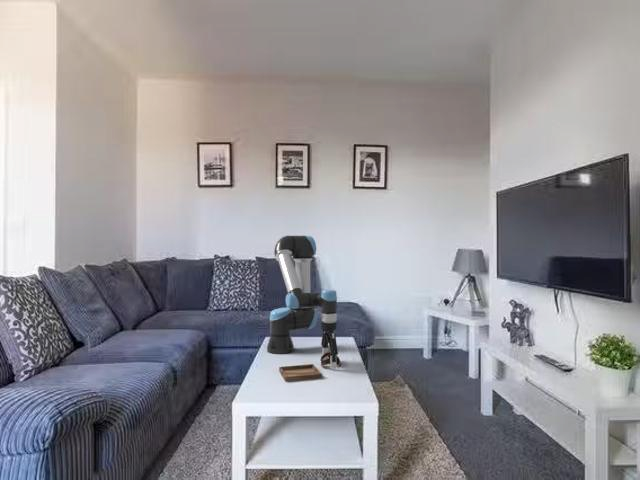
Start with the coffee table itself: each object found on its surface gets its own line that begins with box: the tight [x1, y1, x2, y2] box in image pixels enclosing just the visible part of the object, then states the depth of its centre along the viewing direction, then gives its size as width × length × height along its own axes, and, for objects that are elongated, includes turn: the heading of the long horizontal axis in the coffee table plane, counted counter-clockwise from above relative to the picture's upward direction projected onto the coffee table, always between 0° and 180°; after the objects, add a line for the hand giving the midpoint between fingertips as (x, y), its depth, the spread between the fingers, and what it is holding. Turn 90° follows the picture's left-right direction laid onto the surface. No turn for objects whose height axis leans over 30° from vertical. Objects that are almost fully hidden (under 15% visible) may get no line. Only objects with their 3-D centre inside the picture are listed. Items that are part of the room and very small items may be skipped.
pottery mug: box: [319, 351, 342, 369], centre depth 205 cm, size 12×10×8 cm
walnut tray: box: [278, 363, 323, 383], centre depth 192 cm, size 16×17×2 cm
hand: (329, 364), depth 205 cm, fingers open, 13 cm apart
